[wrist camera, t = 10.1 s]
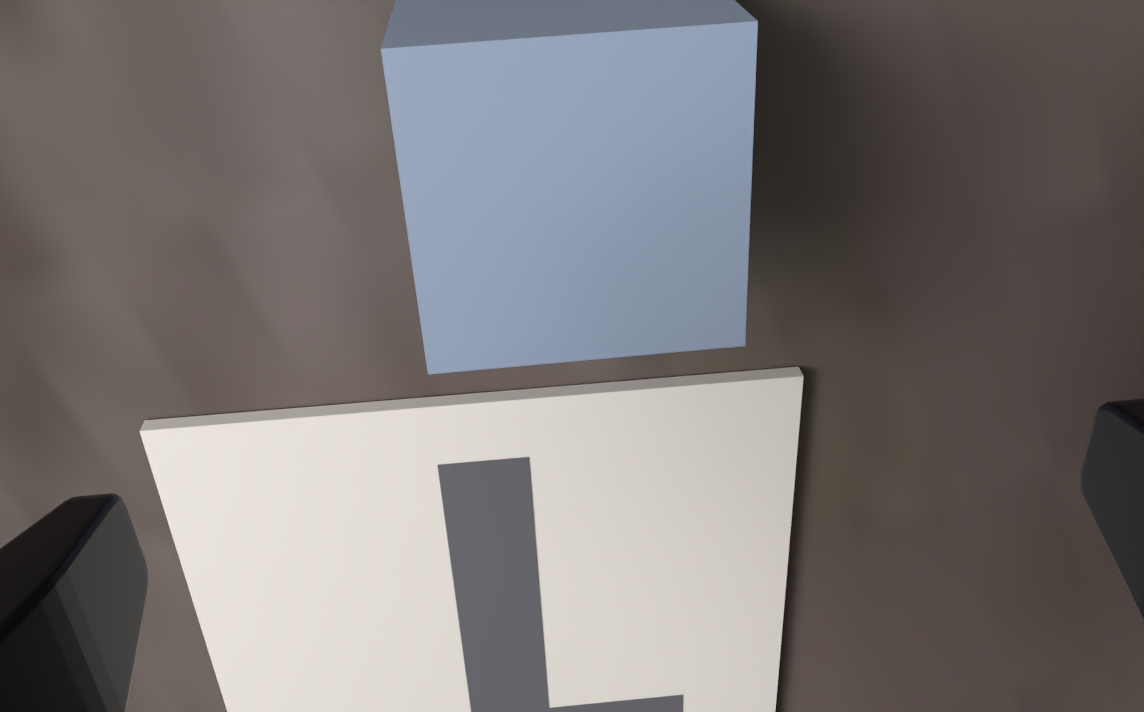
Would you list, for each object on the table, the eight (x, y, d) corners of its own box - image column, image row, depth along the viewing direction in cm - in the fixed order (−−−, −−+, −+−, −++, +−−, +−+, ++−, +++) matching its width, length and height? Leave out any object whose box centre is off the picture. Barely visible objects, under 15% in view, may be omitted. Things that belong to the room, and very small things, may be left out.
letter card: (798, 366, 22) (803, 376, 22) (764, 783, 29) (768, 796, 29) (145, 420, 21) (139, 431, 21) (272, 834, 29) (269, 848, 28)
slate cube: (688, -42, 18) (757, 21, 14) (686, 222, 20) (744, 346, 16) (402, -22, 18) (380, 49, 13) (437, 243, 20) (428, 373, 16)
